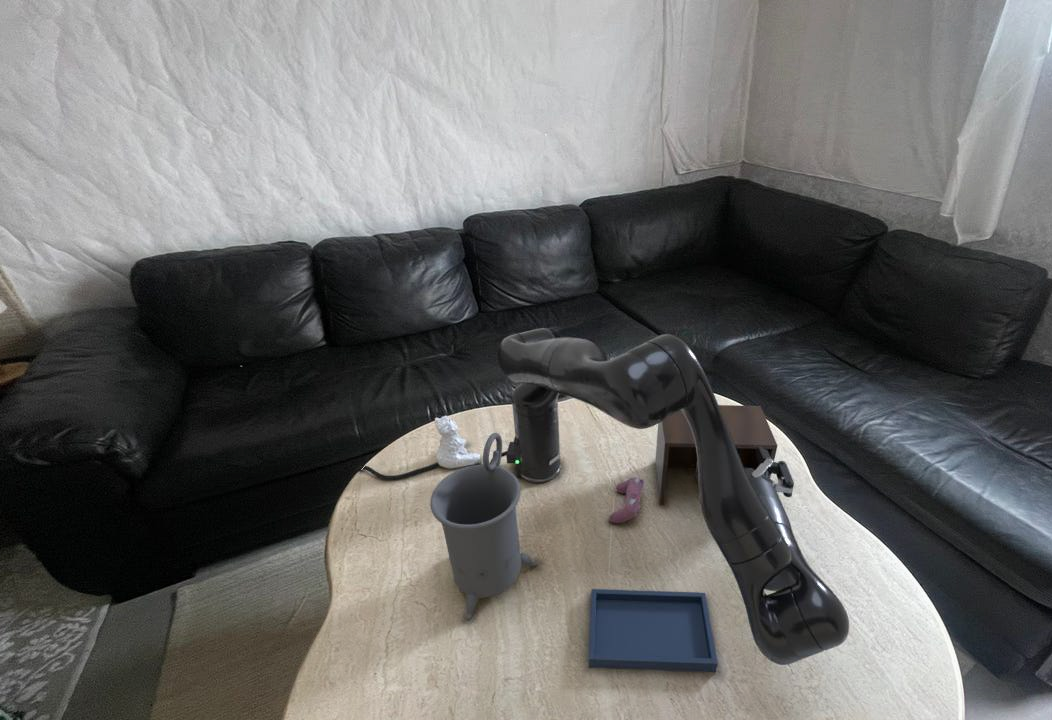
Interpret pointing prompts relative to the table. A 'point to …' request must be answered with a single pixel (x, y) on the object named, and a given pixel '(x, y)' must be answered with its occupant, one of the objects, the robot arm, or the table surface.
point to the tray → (651, 631)
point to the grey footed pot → (481, 526)
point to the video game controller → (628, 500)
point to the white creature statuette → (452, 446)
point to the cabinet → (680, 444)
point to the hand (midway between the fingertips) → (733, 450)
